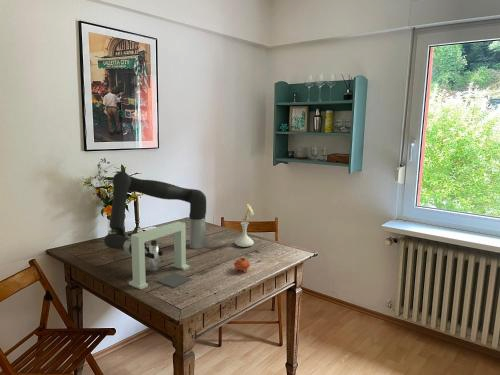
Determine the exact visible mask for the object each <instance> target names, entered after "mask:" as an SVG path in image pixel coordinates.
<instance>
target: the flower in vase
mask: <svg viewBox="0 0 500 375" xmlns="http://www.w3.org/2000/svg"><path fill="white" fill-rule="evenodd" d="M246 207H247V212H246V214H245V216H244V218H243V219H242V221H241V222H240V225H241V228H242V234H241V236H239V237H237V238H236V239H235V240H234V244H235V245H236V246H237V247H241V248H242V247H243V248H245V247H251V246H253V245H254V242H255V241H254V240H253V239H252V238H251V237H249V236H248V234H247V230H248V229H247V228H248V225H249V222H248V221H247V220H249V215H247V214H248V213H249V214H250V215H251V216H254V214H255V213H254V209H252V208H253V207H252V206H251V205H250V204H249V203H246Z"/></svg>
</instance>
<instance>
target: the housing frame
mask: <svg viewBox="0 0 500 375" xmlns="http://www.w3.org/2000/svg"><path fill="white" fill-rule="evenodd" d="M171 234H173V247H174V248H173V253H174V254H173V263H172V265H171V266H172V267H173V268H177V269H179V270H183V271H185V270H187V269H189V268H190V265H189V264H187V257H186V256H187V250H186V247H187V246H186V245H187V244H186V243H187V242H186V241H187V240H186V236H187V234H186V223H185V222H181V221H175V222H172V223H168V224H165V225H161V226H158V227H154V228H151V229H148V230H144V231H140V232H137V233H133V234H131V235H130V238H131V246H132V254H131V266H132V268H131V269H132V280H130V281H128V285H130V286H131V287H134V288H136V289H139V290H143V289H145V288H147V287H149V283H147V282H146V276H147V275H146V257H145V245H144V243H146V242H151V240H156V239H159V238H163V237H165V236H168V235H171Z"/></svg>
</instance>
